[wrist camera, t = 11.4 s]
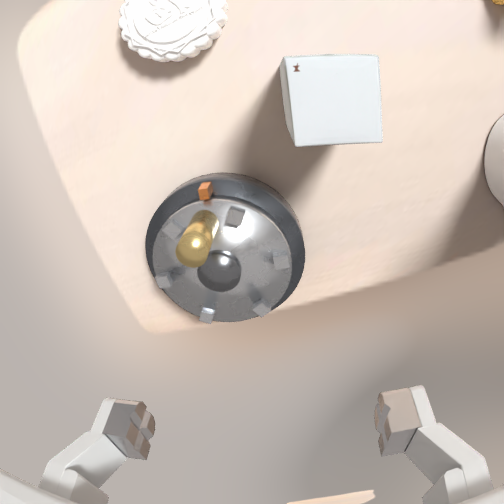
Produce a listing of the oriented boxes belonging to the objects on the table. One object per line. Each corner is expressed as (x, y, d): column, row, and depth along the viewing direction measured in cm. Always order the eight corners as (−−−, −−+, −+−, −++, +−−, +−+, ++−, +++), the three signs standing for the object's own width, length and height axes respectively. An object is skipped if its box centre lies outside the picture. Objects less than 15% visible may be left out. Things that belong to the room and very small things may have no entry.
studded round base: (138, 212, 37) (107, 248, 30) (275, 181, 35) (276, 212, 27) (183, 318, 45) (168, 364, 37) (300, 302, 42) (305, 350, 35)
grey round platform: (296, 163, 37) (299, 176, 32) (307, 301, 46) (310, 327, 41) (136, 185, 39) (118, 201, 34) (174, 310, 49) (165, 334, 44)
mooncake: (204, -43, 25) (198, -54, 21) (245, 35, 30) (242, 30, 27) (115, 4, 27) (101, -2, 24) (150, 80, 33) (139, 80, 29)
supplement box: (285, 127, 35) (291, 148, 24) (278, 64, 31) (281, 53, 20) (349, 124, 34) (384, 145, 23) (344, 61, 30) (379, 52, 19)
